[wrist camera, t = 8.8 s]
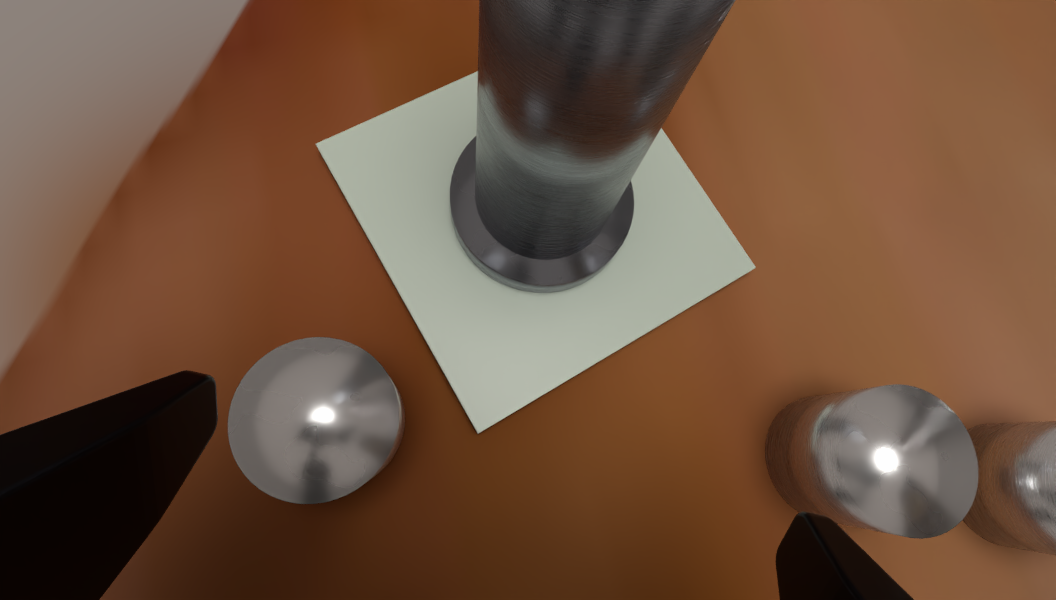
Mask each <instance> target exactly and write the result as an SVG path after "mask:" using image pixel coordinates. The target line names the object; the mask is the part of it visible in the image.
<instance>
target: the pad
mask: <svg viewBox="0 0 1056 600" xmlns="http://www.w3.org/2000/svg"><path fill="white" fill-rule="evenodd" d="M477 87H478V71H477V72H475V73H473V74H471V75H468V76H466V77H464V78H462V79H460V80H457V81H455V82H453V83H451V84H448V85H446V86H444V87H442V88H439V89H437V90H435V91H433V92H431V93H428V94H426V95H424V96H422V97H419V98H417V99H415V100H413V101H410V102H408V103H406V104H404V105H402V106H399V107H397V108H395V109H393V110H390V111H388V112H386V113H384V114H381V115H379V116H377V117H375V118H373V119H370V120H368V121H366V122H364V123H361V124H359V125H357V126H355V127H352V128H350V129H348V130H346V131H344V132H341V133H339V134H337V135H335V136H332V137H330V138H328V139H326V140H323V141H321V142H319V143H317V144H316V146H317V148H318V150H319V152H320V154H321V156H322V157H323V159H324V161H325V163H326V164H327V166H328V168H329V170H330V172H331V173H332V175H333V177H334V179H335V180H336V182H337V184H338V186H339V188H340V189H341V191H342V193H343V195H344V197H345V198H346V200H347V202H348V204H349V205H350V207H351V209H352V211H353V213H354V214H355V216H356V218H357V220H358V221H359V223H360V225H361V227H362V229H363V230H364V232H365V234H366V236H367V238H368V239H369V241H370V243H371V245H372V246H373V248H374V250H375V252H376V254H377V255H378V257H379V259H380V261H381V262H382V264H383V266H384V268H385V270H386V271H387V273H388V275H389V277H390V279H391V280H392V282H393V284H394V286H395V287H396V289H397V291H398V293H399V295H400V296H401V298H402V300H403V302H404V303H405V305H406V307H407V309H408V311H409V312H410V314H411V316H412V318H413V320H414V321H415V323H416V325H417V327H418V328H419V330H420V332H421V334H422V336H423V337H424V339H425V341H426V343H427V344H428V346H429V348H430V350H431V352H432V353H433V355H434V357H435V359H436V361H437V362H438V364H439V366H440V368H441V369H442V371H443V373H444V375H445V377H446V378H447V380H448V382H449V384H450V385H451V387H452V389H453V391H454V393H455V394H456V396H457V398H458V400H459V402H460V403H461V405H462V407H463V409H464V410H465V412H466V414H467V416H468V418H469V419H470V421H471V423H472V425H473V426H474V428H475V430H476V432H477V434H478V433H480V432H482V431H484V430H485V429H487V428H489V427H490V426H492V425H494V424H495V423H497V422H499V421H500V420H502V419H504V418H505V417H507V416H509V415H510V414H512V413H514V412H515V411H517V410H519V409H520V408H522V407H524V406H525V405H527V404H529V403H530V402H532V401H534V400H535V399H537V398H539V397H540V396H542V395H544V394H545V393H547V392H549V391H550V390H552V389H554V388H556V387H557V386H559V385H561V384H562V383H564V382H566V381H567V380H569V379H571V378H572V377H574V376H576V375H577V374H579V373H581V372H582V371H584V370H586V369H587V368H589V367H591V366H592V365H594V364H596V363H597V362H599V361H601V360H602V359H604V358H606V357H607V356H609V355H611V354H612V353H614V352H616V351H617V350H619V349H621V348H622V347H624V346H626V345H627V344H629V343H631V342H633V341H634V340H636V339H638V338H639V337H641V336H643V335H644V334H646V333H648V332H649V331H651V330H653V329H654V328H656V327H658V326H659V325H661V324H663V323H664V322H666V321H668V320H669V319H671V318H673V317H674V316H676V315H678V314H679V313H681V312H683V311H684V310H686V309H688V308H689V307H691V306H693V305H694V304H696V303H698V302H699V301H701V300H703V299H705V298H706V297H708V296H710V295H711V294H713V293H715V292H716V291H718V290H720V289H721V288H723V287H725V286H726V285H728V284H730V283H731V282H733V281H735V280H736V279H738V278H740V277H741V276H743V275H745V274H746V273H748V272H750V271H751V270H753V269H754V268H756V267H755V265H754V264H753V263H752V261H751V260H750V258H749V257H748V255H747V254H746V252H745V251H744V249H743V248H742V246H741V245H740V243H739V242H738V240H737V239H736V237H735V236H734V234H733V233H732V232H731V230H730V229H729V227H728V226H727V224H726V223H725V221H724V220H723V218H722V217H721V215H720V214H719V212H718V211H717V209H716V208H715V206H714V205H713V204H712V202H711V201H710V199H709V198H708V196H707V195H706V193H705V192H704V190H703V189H702V187H701V186H700V184H699V183H698V181H697V180H696V178H695V177H694V175H693V174H692V173H691V171H690V170H689V168H688V167H687V165H686V164H685V162H684V161H683V159H682V158H681V156H680V155H679V153H678V152H677V150H676V149H675V147H674V146H673V145H672V143H671V142H670V140H669V139H668V137H667V136H666V134H665V133H664V131H663V130H662V128H661V129H660V131H659V133H658V134H657V136H656V138H655V139H654V141H653V143H652V145H651V146H650V148H649V150H648V151H647V153H646V155H645V157H644V158H643V160H642V162H641V164H640V165H639V167H638V169H637V170H636V172H635V174H634V176H633V177H632V179H631V183H632V187H633V193H634V214H633V218H632V223H631V226H630V229H629V232H628V235H627V237H626V239H625V240H624V242H623V244H622V246H621V247H620V248H619V250H618V251H617V253H616V254H615V255H614V257H613V258H612V259H611V261H610V262H609V264H608V265H607V266H606V267H605V268H604V269H603V270H602V271H601V272H600V273H598V274H597V275H596V276H594V277H593V278H592V279H590V280H588V281H587V282H585V283H583V284H581V285H579V286H576V287H574V288H571V289H567V290H563V291H559V292H551V293H534V292H526V291H521V290H518V289H514V288H511V287H508V286H506V285H503V284H501V283H499V282H498V281H496V280H494V279H492V278H490V277H489V276H488V275H486V274H485V273H484V272H482V271H481V270H480V269H479V268H478V267H477V266H476V265H475V264H474V263H473V262H472V261H471V260H470V258H469V257H468V256H467V255H466V253H465V252H464V250H463V249H462V247H461V245H460V243H459V241H458V239H457V237H456V234H455V231H454V228H453V224H452V218H451V209H450V184H451V178H452V174H453V171H454V167H455V165H456V163H457V161H458V158H459V156H460V155H461V153H462V152H463V150H464V149H465V147H466V146H467V145H468V144H469V143H470V141H471V140H472V139H473V138H474V137H475V136H476V128H477Z"/></svg>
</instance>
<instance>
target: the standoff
mask: <svg viewBox="0 0 1056 600" xmlns="http://www.w3.org/2000/svg"><path fill="white" fill-rule="evenodd" d="M734 2H735V0H480V3H479V45H478V87H477V128H476V136H475V137H474V138H473V139H472V140H471V141H470V143H469V144H468V145H467V146H466V147H465V149H464V150H463V152H462V153H461V155H460V156H459V158H458V161H457V163H456V165H455V167H454V171H453V174H452V178H451V184H450V209H451V218H452V224H453V228H454V231H455V234H456V237H457V239H458V241H459V243H460V245H461V247H462V249H463V250H464V252H465V253H466V255H467V256H468V257H469V258H470V260H471V261H472V262H473V263H474V264H475V265H476V266H477V267H478V268H479V269H480V270H481V271H482V272H484V273H485V274H486V275H488V276H489V277H490V278H492V279H494V280H496V281H498V282H499V283H501V284H503V285H506V286H508V287H511V288H514V289H518V290H521V291H526V292H534V293H551V292H559V291H563V290H567V289H571V288H574V287H576V286H579V285H581V284H583V283H585V282H587V281H588V280H590V279H592V278H593V277H594V276H596V275H597V274H598V273H600V272H601V271H602V270H603V269H604V268H605V267H606V266H607V265H608V264H609V262H610V261H611V259H612V258H613V257H614V255H615V254H616V253H617V251H618V250H619V248H620V247H621V246H622V244H623V242H624V240H625V239H626V237H627V235H628V232H629V229H630V226H631V223H632V218H633V214H634V193H633V187H632V183H631V179H632V177H633V176H634V174H635V172H636V170H637V169H638V167H639V165H640V164H641V162H642V160H643V158H644V157H645V155H646V153H647V151H648V150H649V148H650V146H651V145H652V143H653V141H654V139H655V138H656V136H657V134H658V133H659V131H660V129H661V127H662V126H663V124H664V122H665V121H666V119H667V117H668V115H669V114H670V112H671V110H672V109H673V107H674V105H675V103H676V102H677V100H678V98H679V96H680V95H681V93H682V91H683V90H684V88H685V86H686V84H687V83H688V81H689V79H690V78H691V76H692V74H693V72H694V71H695V69H696V67H697V66H698V64H699V62H700V60H701V59H702V57H703V55H704V54H705V52H706V50H707V48H708V47H709V45H710V43H711V41H712V40H713V38H714V36H715V35H716V33H717V31H718V29H719V28H720V26H721V24H722V23H723V21H724V19H725V17H726V16H727V14H728V12H729V11H730V9H731V7H732V5H733V4H734Z"/></svg>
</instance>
